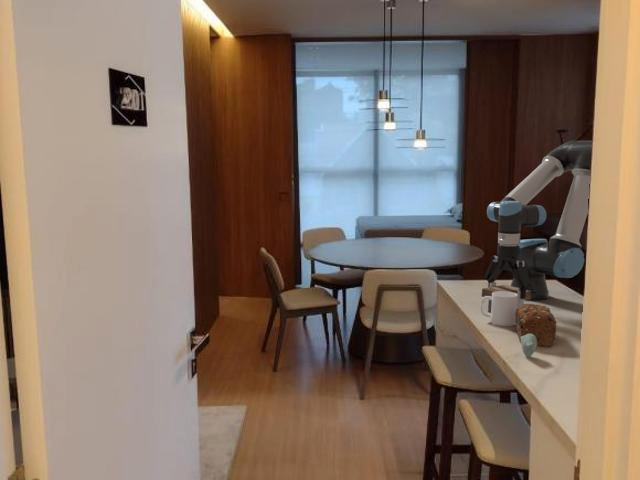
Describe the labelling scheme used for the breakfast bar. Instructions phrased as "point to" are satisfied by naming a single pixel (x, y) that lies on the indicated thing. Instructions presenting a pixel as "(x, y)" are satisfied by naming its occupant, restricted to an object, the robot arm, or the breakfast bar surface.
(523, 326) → the bread
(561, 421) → the breakfast bar surface
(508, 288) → the lid
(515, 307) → the cup
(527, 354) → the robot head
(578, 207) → the robot arm
